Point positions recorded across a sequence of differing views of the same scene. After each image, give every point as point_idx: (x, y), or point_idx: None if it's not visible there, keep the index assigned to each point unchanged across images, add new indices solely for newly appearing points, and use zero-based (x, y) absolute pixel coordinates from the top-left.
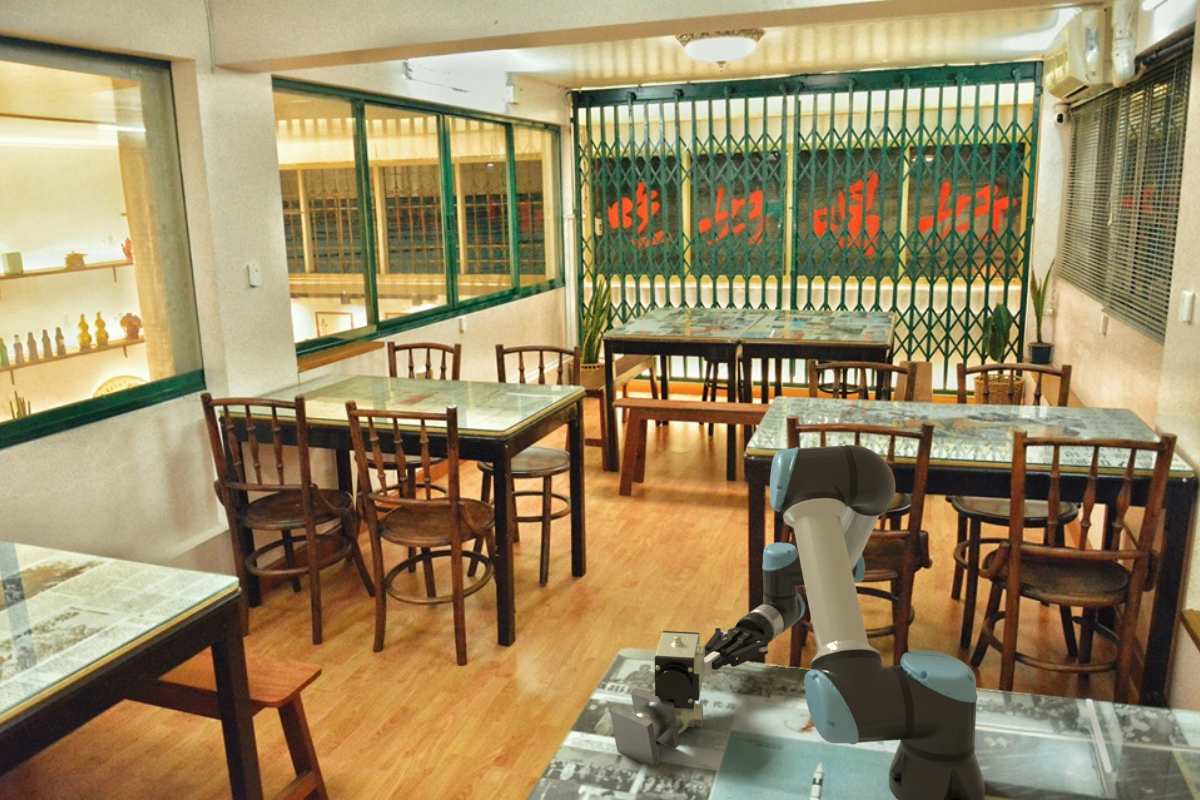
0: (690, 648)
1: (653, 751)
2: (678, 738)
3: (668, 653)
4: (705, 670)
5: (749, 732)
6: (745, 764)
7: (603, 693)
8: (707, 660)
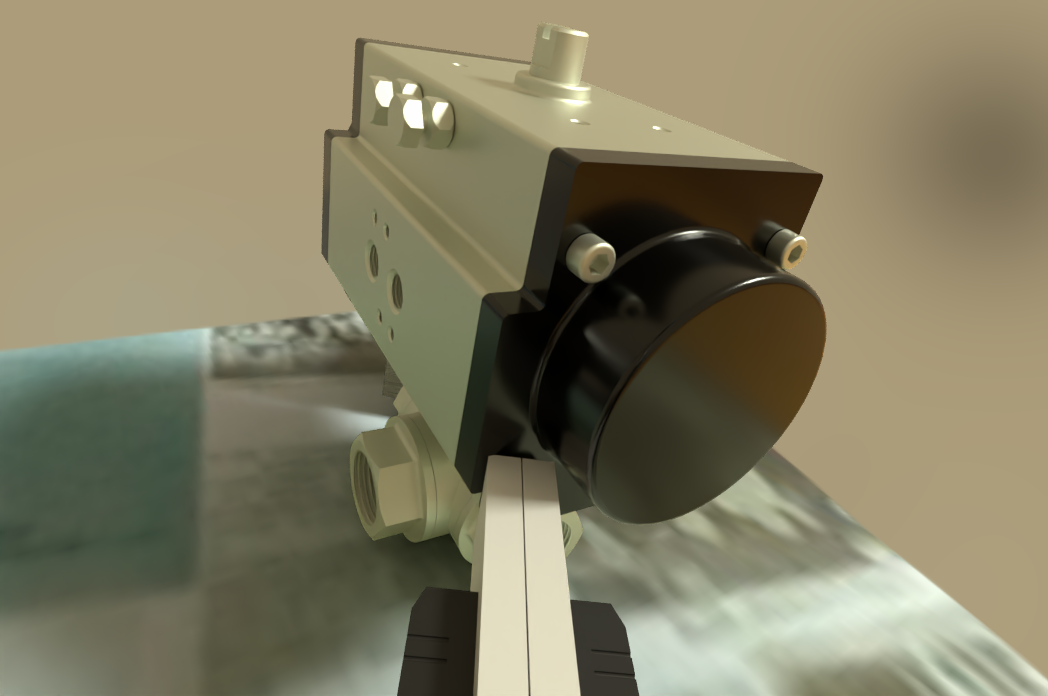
0: (446, 73)
1: None
2: (386, 366)
3: (514, 68)
4: (478, 533)
5: (70, 605)
6: (93, 418)
7: (953, 604)
8: (503, 528)
